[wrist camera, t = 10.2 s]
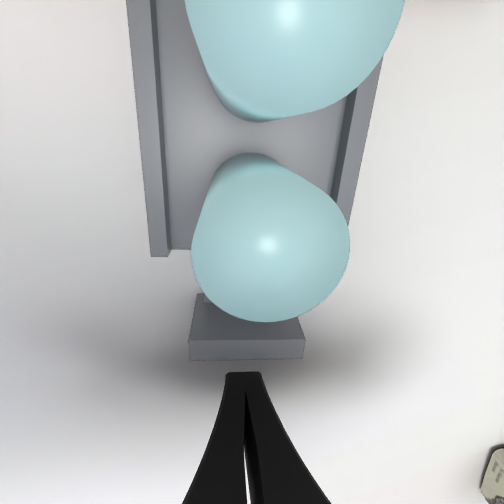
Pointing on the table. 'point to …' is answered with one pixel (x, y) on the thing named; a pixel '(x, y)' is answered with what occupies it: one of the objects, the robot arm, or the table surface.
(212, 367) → the table surface
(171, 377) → the table surface
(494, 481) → the box
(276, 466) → the robot arm
